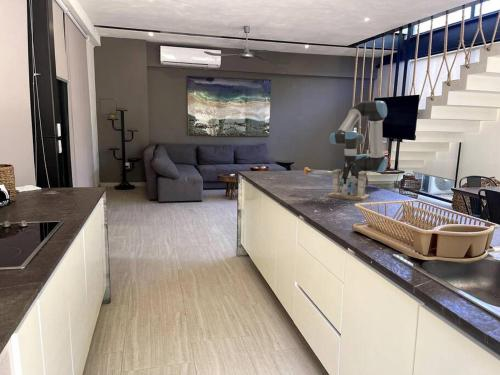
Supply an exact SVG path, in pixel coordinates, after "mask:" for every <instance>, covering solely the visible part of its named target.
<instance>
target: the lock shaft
mask: <svg viewBox="0 0 500 375" xmlns="http://www.w3.org/2000/svg"><path fill="white" fill-rule="evenodd" d="M302 172H303V175H309V174H320V175H327V176H328V175H330V176H333V172H334V170H332V171H331V170H324V169H323V170H320V169H310V168H309V166H308V167H307V166H304V168H303V170H302Z"/></svg>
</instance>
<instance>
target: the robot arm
mask: <svg viewBox="0 0 500 375" xmlns="http://www.w3.org/2000/svg"><path fill="white" fill-rule="evenodd" d="M347 113H348V114H347V115H346V118H345V119H344V120H343V122H342V124H341V125H340V127H339V128H338V129H337V131H336V132H332V133H330V136H329V143H330V144H332V145H333V144H334V145H344V150H343V151H344V156H343V157H344V159H343V160H344V161H345V162H346V163H344V164H343V166H344V167H343V172H342V174H341V175H342V176H341V178H342V179H343V189H348V179H347V178H356V179H358V176H359V172H360V171H366V184H365V186H366V185H367V186H368V185H369V179H368V174H367V173H368V172H372V173H384V172H385V171H386V169H387V167H388V161H389V160H388V157H387V156H386V154H385V152H384V151H383V149H384V148H383V147H384V145H383V143H384V142H383V139H384V138H383V122H384V120H385V118H386V117H387V115H388V107H387V104H386V102H385V101H383V100H369V101H366V100H365V101H364V100H363V101H360V102H358V103H357V104H355V105H354V106H352V107H351V108H350V109H349V111H348V112H347ZM361 118H367V121H368V122H369V135H370V153H369V154H367V153H366V154H365V153H363V154H358V152H357V150H358V149H357V146H360V145H362V144H363V143H364V141H365V135H364V134H362V133H359V132H358V131H356V130H352V129H353V127H354V126H355V125H356V123H357V122H358V121H360V119H361ZM349 174H350V175H349Z"/></svg>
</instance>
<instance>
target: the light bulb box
mask: <svg viewBox="0 0 500 375" xmlns="http://www.w3.org/2000/svg"><path fill="white" fill-rule="evenodd" d="M347 179H348V189H343V179H342V177H341V178H340V191H339V194H341V195H343V196H350V195H358V179H356V178H350V177H348V178H347Z"/></svg>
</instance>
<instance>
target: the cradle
mask: <svg viewBox="0 0 500 375" xmlns="http://www.w3.org/2000/svg"><path fill="white" fill-rule="evenodd" d="M333 171H334V172H333V175H332V181H333V182H332V192H329V193H327V195H326V196H327V198H336V199H344V200H350V201H351V200H352V201H361V202H364V201H366V200H367V199H369V198H371V196H370V195H371V194H366V185H365V184H366V171H360V172H359V176H358V195H350V196H343V195H341V194H339V191H340V178H342V176H341V175H342V169H339V168H338V169H337V168H336V169H333Z"/></svg>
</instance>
